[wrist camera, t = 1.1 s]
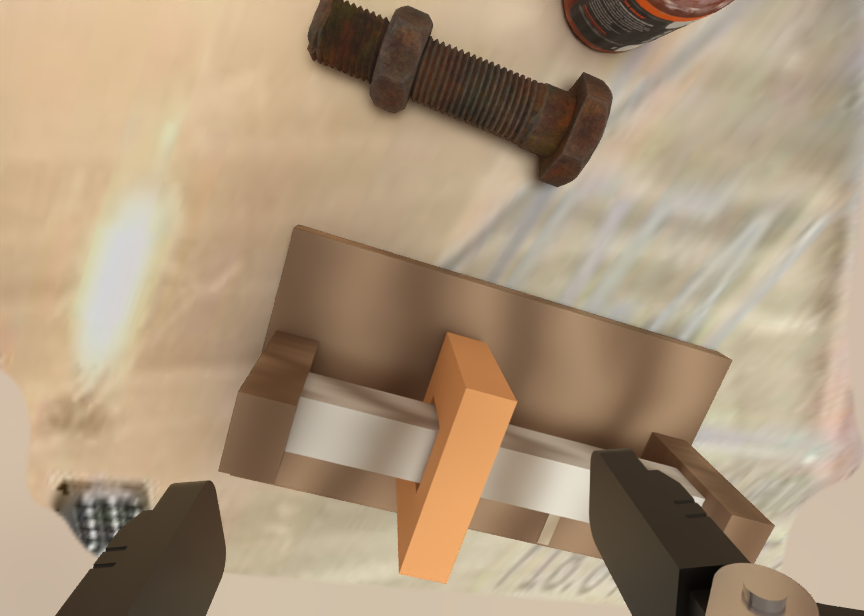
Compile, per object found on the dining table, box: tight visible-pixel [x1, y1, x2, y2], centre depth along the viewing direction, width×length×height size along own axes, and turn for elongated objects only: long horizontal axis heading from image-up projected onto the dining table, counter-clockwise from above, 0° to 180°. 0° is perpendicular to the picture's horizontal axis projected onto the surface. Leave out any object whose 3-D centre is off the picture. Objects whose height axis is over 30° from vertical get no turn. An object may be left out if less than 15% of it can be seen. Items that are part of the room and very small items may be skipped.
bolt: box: [307, 0, 613, 187], centre depth 28 cm, size 6×5×15 cm
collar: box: [396, 332, 517, 584], centre depth 29 cm, size 2×10×8 cm, turn 162°
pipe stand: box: [218, 225, 775, 564], centre depth 31 cm, size 28×16×10 cm, turn 72°
